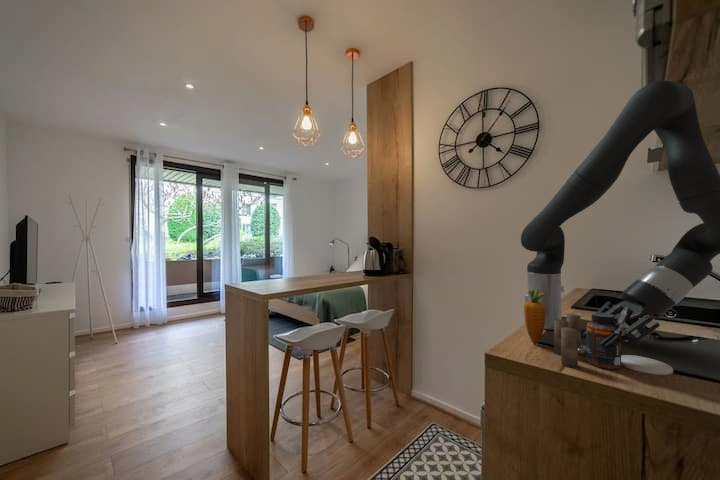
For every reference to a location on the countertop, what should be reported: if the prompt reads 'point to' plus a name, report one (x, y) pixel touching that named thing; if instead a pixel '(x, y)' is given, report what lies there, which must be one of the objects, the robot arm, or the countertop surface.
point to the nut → (582, 350)
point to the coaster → (646, 365)
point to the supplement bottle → (598, 332)
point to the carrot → (534, 316)
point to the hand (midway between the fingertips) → (594, 342)
